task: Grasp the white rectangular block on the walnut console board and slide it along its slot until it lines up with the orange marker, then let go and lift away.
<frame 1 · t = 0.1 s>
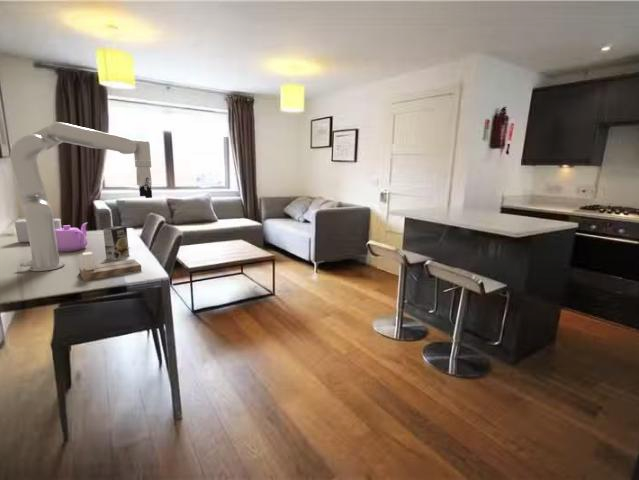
hand: (145, 197, 177), 31 cm above the table, tool pointing down, fingers open, 9 cm apart
white rectangular block: (88, 261, 144), point 7 cm above the table, slide at 0.0 cm
coffee box: (118, 257, 174), on the table
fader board: (111, 272, 150), on the table
teapot: (73, 248, 189), on the table
condiment: (120, 249, 190), on the table
stereo radio cassette player: (42, 241, 203), on the table
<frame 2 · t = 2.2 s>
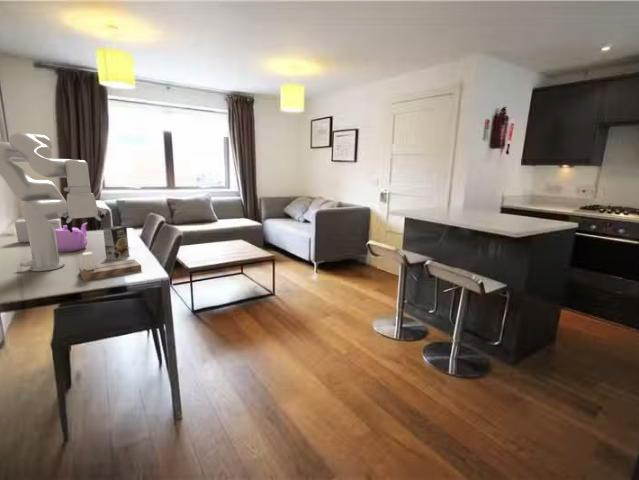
hand: (85, 230, 141), 20 cm above the table, tool pointing down, fingers open, 9 cm apart
nothing on the table moved.
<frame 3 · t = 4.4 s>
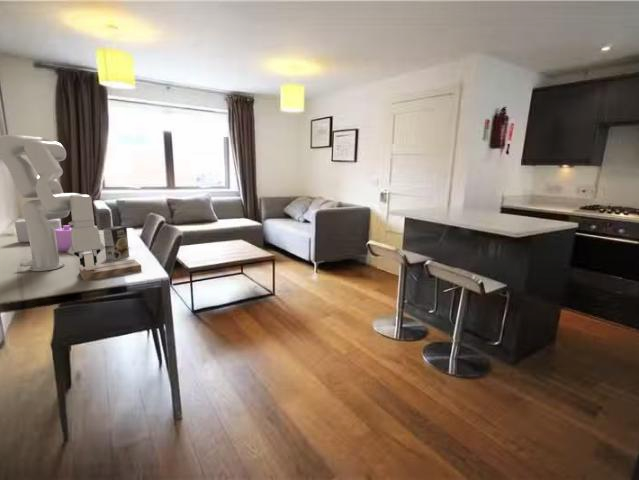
hand: (89, 264, 144), 5 cm above the table, tool pointing down, fingers closed on white rectangular block, 3 cm apart
white rectangular block: (88, 261, 144), point 7 cm above the table, slide at 0.0 cm, touching gripper
everything else where it was.
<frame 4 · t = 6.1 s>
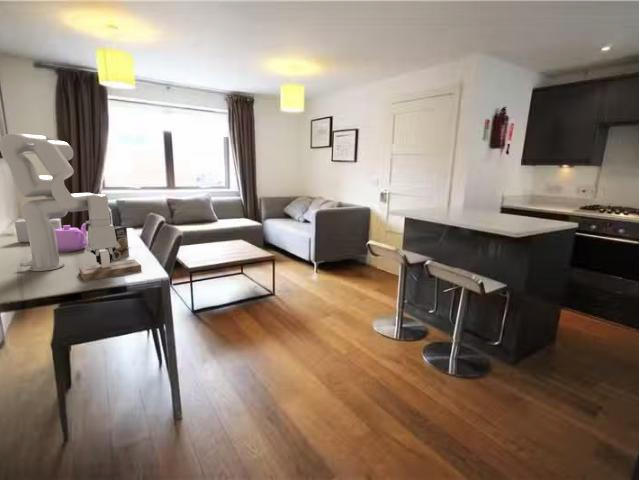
hand: (104, 262, 148), 5 cm above the table, tool pointing down, fingers closed on white rectangular block, 3 cm apart
white rectangular block: (104, 258, 148), point 7 cm above the table, slide at 6.0 cm, touching gripper
everything else where it was.
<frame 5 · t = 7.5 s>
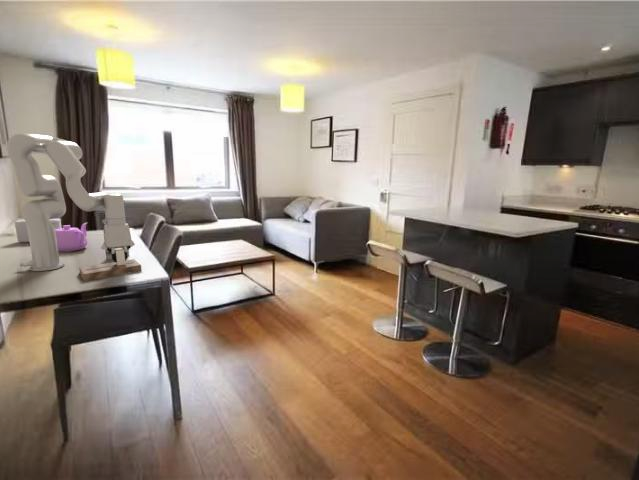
hand: (120, 260, 152), 5 cm above the table, tool pointing down, fingers closed on white rectangular block, 3 cm apart
white rectangular block: (119, 256, 152), point 7 cm above the table, slide at 11.9 cm, touching gripper
everything else where it was.
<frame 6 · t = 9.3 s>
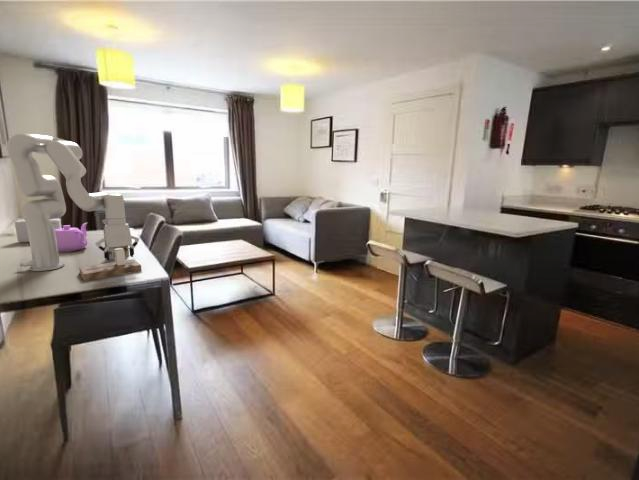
hand: (119, 258, 152), 6 cm above the table, tool pointing down, fingers open, 9 cm apart
white rectangular block: (119, 256, 152), point 7 cm above the table, slide at 12.0 cm
everything else where it was.
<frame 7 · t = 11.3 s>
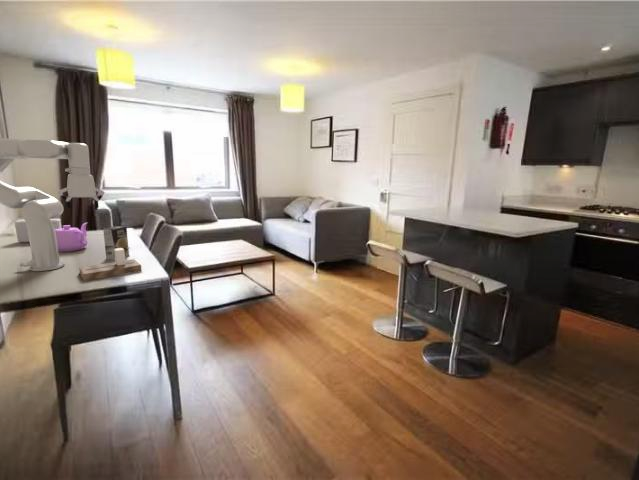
hand: (83, 209, 151), 27 cm above the table, tool pointing down, fingers open, 9 cm apart
nothing on the table moved.
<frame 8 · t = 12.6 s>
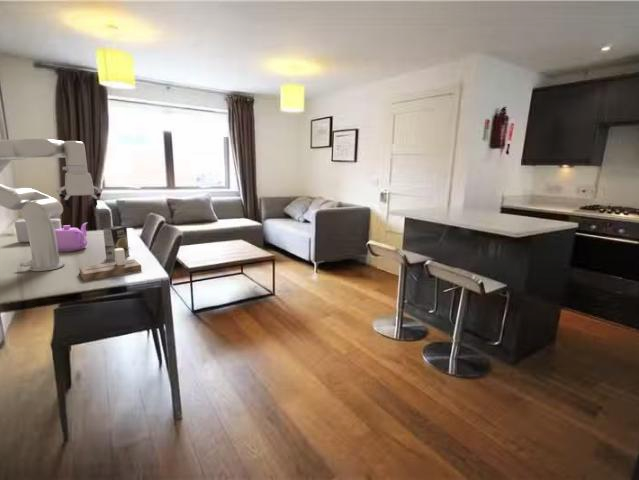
hand: (82, 207, 151), 28 cm above the table, tool pointing down, fingers open, 9 cm apart
nothing on the table moved.
at the end: white rectangular block slide at 12.0 cm; the gripper is holding nothing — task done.
